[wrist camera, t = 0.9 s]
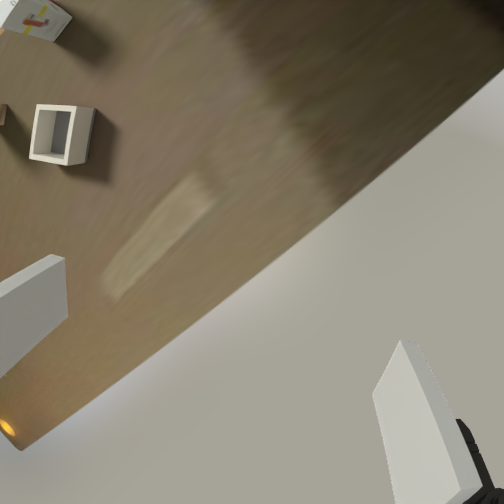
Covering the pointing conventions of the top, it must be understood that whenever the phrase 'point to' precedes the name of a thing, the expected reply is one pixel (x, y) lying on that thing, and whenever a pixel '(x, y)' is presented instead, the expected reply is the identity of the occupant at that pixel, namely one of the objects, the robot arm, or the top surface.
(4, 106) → the tan wooden block
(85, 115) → the white square open box
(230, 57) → the top surface
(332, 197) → the top surface
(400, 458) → the robot arm
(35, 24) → the ink box
